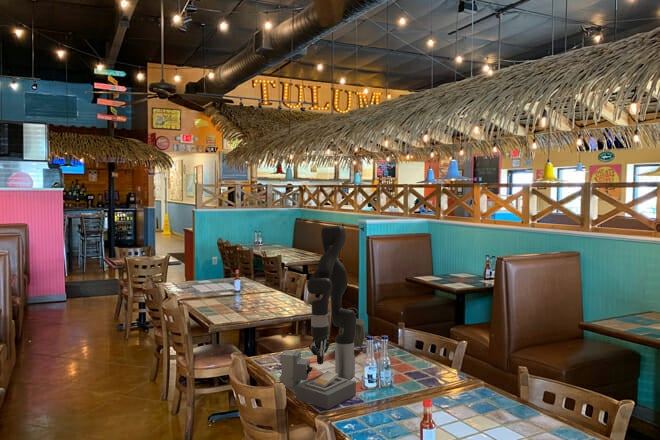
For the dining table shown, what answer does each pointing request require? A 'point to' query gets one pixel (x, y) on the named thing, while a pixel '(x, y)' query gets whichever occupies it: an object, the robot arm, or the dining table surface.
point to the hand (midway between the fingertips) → (320, 363)
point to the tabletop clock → (357, 331)
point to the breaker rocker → (325, 379)
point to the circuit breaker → (293, 368)
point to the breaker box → (326, 392)
